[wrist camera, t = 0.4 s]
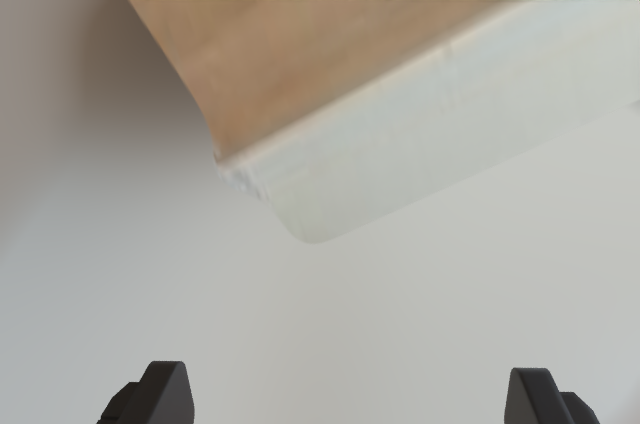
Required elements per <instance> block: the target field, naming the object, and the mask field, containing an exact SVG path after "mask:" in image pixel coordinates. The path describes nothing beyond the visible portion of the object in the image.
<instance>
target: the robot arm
mask: <svg viewBox="0 0 640 424" xmlns="http://www.w3.org/2000/svg"><path fill="white" fill-rule="evenodd" d="M193 423H194V403H193V398H192V394H191V389H190V385H189V380H188V375H187V371H186V367H185V364H184V363H183V362H182V361H152V362H151V363H150V364H149V366H148V367H147V369H146V371H145V373H144V374H143V376H142V378H141V380H140V382H129V383H128V384H127V385H126V386H125V387H124V388H122V389H121V390H120V391H119V392H118V393H117V394H116V395H115V396H113V397H112V399H111V400H110V402H109V404H108V405H107V407H106V409H105V410H104V412H103V413H102V415H101V419H100V420H98V422H97V424H193ZM504 423H505V424H600V423H599V421H598V420H597V417H596V415H595V414H594V412H593V410H592V409H591V408H590V407H589V406H588V405H586V404H585V403H584V402H583V401H582V400H581V399H580V398H579V397H578V396H577V395H576V394H575V393H574V392H559V390H558V388H557V386H556V384H555V382H554V380H553V378H552V376H551V374H550V372H549V371H548V369H546V368H513V369H512V371H511V375H510V381H509V387H508V394H507V401H506V407H505V415H504Z"/></svg>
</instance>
